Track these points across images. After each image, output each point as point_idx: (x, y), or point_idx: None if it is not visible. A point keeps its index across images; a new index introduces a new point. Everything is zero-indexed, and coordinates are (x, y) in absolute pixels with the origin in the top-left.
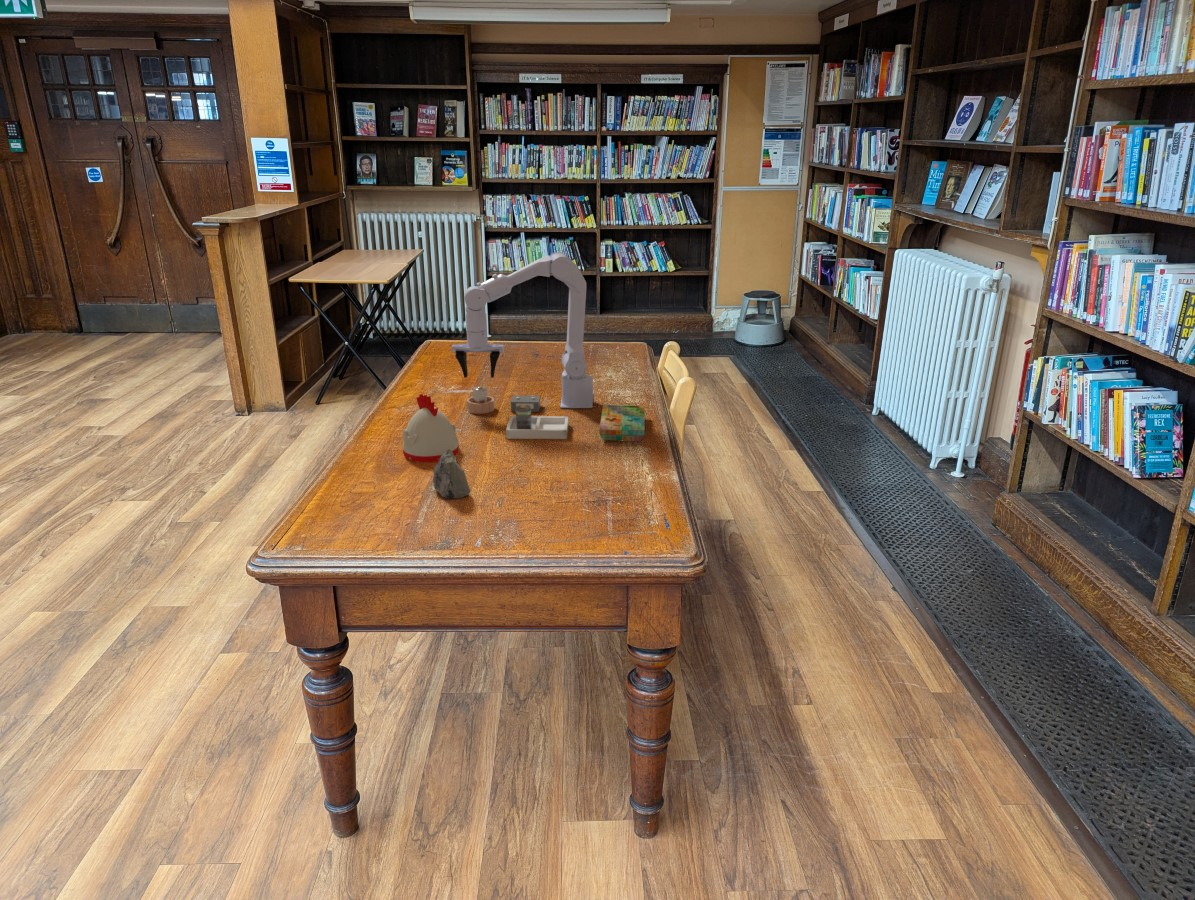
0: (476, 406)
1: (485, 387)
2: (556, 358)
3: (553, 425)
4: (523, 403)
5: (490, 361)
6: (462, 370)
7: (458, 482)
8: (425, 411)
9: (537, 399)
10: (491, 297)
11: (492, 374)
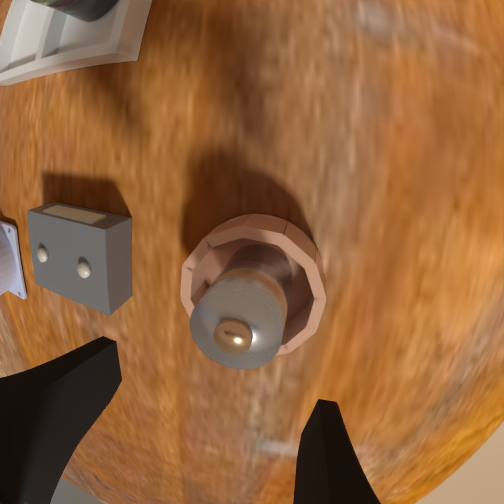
0: (277, 228)
1: (198, 339)
2: (121, 492)
3: (29, 48)
4: (68, 217)
5: (5, 413)
6: (354, 451)
7: None
8: None
9: (33, 243)
10: None
11: (86, 346)
